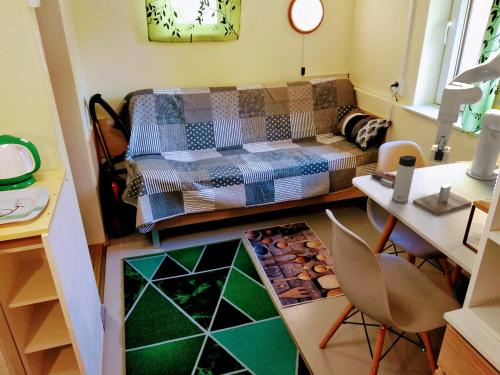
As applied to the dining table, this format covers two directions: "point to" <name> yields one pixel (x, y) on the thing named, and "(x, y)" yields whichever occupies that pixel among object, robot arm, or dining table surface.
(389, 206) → the dining table surface
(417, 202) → the board
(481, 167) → the robot arm
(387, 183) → the walkie-talkie
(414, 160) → the travel mug
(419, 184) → the dining table surface
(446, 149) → the wooden nightstand
